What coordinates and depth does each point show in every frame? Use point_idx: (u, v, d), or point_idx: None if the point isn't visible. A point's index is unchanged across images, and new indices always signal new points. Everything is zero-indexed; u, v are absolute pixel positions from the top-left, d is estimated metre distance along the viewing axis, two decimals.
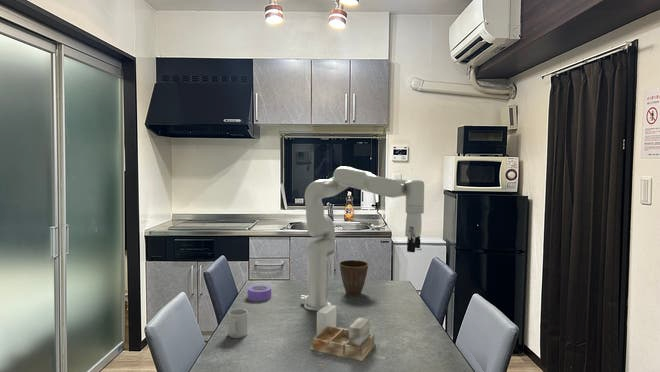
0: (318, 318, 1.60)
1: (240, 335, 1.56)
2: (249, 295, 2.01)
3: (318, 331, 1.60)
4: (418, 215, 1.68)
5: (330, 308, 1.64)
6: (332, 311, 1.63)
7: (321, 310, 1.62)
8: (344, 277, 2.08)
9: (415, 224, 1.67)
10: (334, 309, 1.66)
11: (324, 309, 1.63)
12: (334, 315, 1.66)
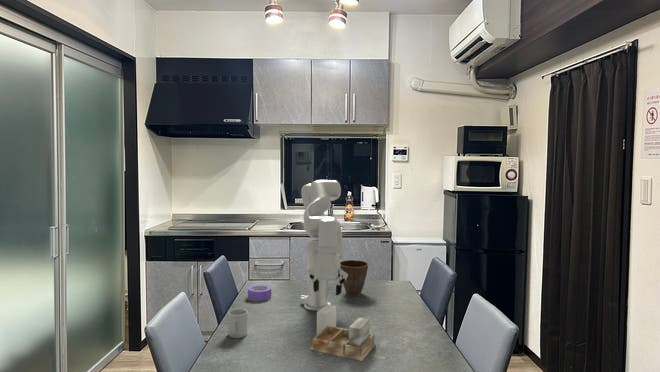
0: (318, 318, 1.60)
1: (240, 335, 1.56)
2: (249, 295, 2.01)
3: (318, 331, 1.60)
4: None
5: (330, 308, 1.64)
6: (332, 311, 1.63)
7: (321, 310, 1.62)
8: None
9: None
10: (334, 309, 1.66)
11: (324, 309, 1.63)
12: (334, 315, 1.66)
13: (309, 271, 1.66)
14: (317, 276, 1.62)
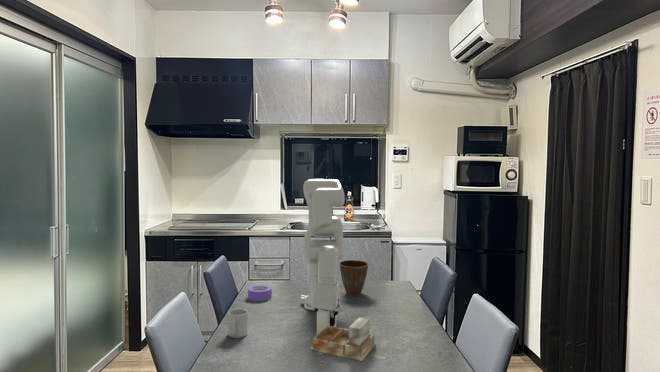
0: (318, 318, 1.60)
1: (240, 335, 1.56)
2: (249, 295, 2.01)
3: (318, 331, 1.60)
4: None
5: None
6: None
7: (321, 310, 1.62)
8: (344, 277, 2.08)
9: (339, 294, 1.63)
10: None
11: None
12: None
13: (312, 305, 1.66)
14: (317, 306, 1.62)
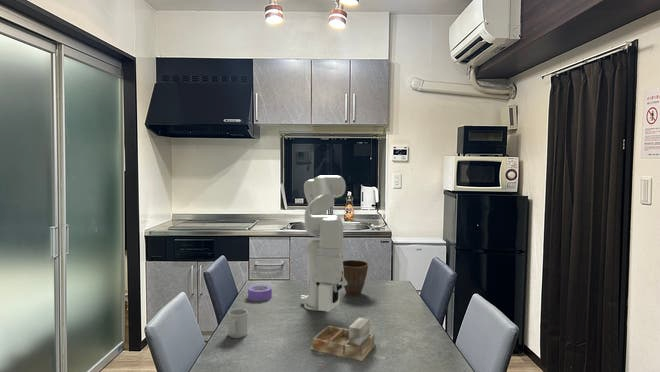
0: (320, 292, 1.47)
1: (240, 335, 1.56)
2: (249, 295, 2.01)
3: (320, 306, 1.47)
4: None
5: None
6: None
7: (323, 284, 1.48)
8: (344, 277, 2.08)
9: None
10: None
11: None
12: None
13: (314, 279, 1.52)
14: (318, 280, 1.49)
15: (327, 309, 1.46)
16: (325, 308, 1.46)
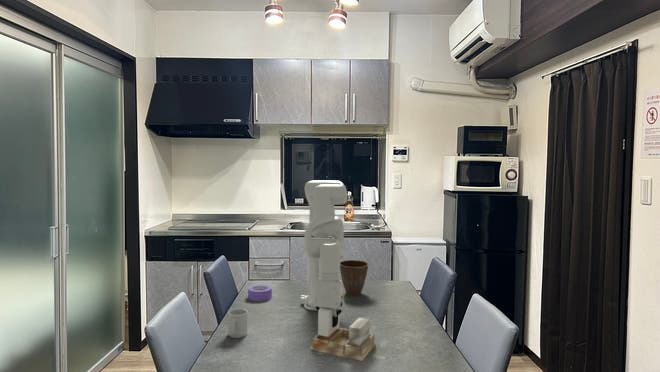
0: (320, 317, 1.47)
1: (240, 335, 1.56)
2: (249, 295, 2.01)
3: (320, 331, 1.47)
4: None
5: None
6: None
7: (323, 308, 1.49)
8: (344, 277, 2.08)
9: (342, 291, 1.50)
10: None
11: None
12: None
13: (313, 303, 1.53)
14: (318, 304, 1.50)
15: (327, 334, 1.46)
16: (324, 333, 1.46)
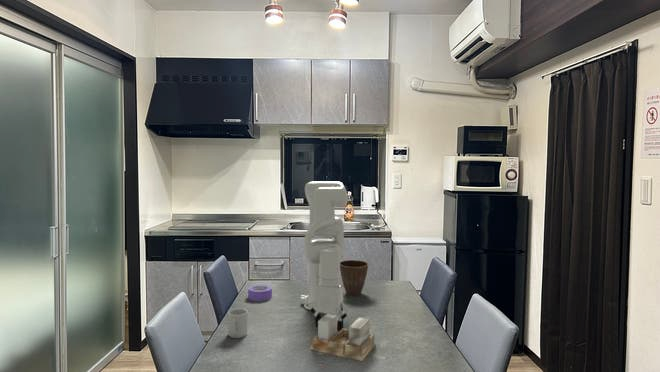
0: (319, 327, 1.47)
1: (240, 335, 1.56)
2: (250, 295, 2.01)
3: None
4: None
5: (332, 316, 1.52)
6: (334, 320, 1.51)
7: (323, 319, 1.49)
8: (344, 277, 2.08)
9: (342, 297, 1.50)
10: None
11: (326, 317, 1.51)
12: None
13: (310, 305, 1.54)
14: (318, 310, 1.50)
15: None
16: None
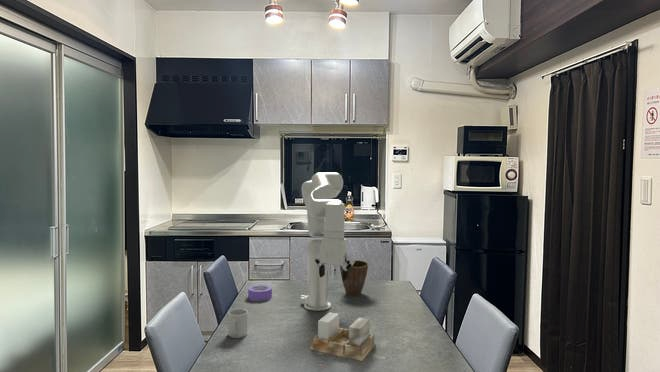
0: (319, 327, 1.47)
1: (240, 335, 1.56)
2: (250, 295, 2.01)
3: None
4: None
5: (332, 316, 1.52)
6: (334, 320, 1.51)
7: (323, 319, 1.49)
8: None
9: (346, 249, 1.56)
10: (337, 317, 1.53)
11: (326, 317, 1.51)
12: (337, 324, 1.53)
13: (315, 256, 1.60)
14: (323, 261, 1.56)
15: None
16: None
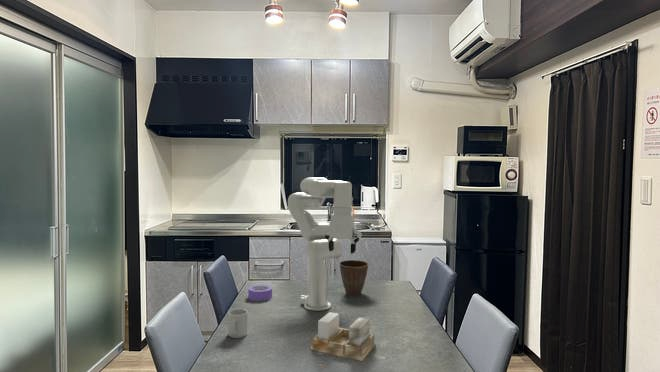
0: (319, 327, 1.47)
1: (240, 335, 1.56)
2: (250, 295, 2.01)
3: None
4: None
5: (332, 316, 1.52)
6: (334, 320, 1.51)
7: (323, 319, 1.49)
8: (344, 277, 2.08)
9: None
10: (337, 317, 1.53)
11: (326, 317, 1.51)
12: (337, 324, 1.53)
13: (324, 232, 1.73)
14: (332, 236, 1.69)
15: None
16: None
